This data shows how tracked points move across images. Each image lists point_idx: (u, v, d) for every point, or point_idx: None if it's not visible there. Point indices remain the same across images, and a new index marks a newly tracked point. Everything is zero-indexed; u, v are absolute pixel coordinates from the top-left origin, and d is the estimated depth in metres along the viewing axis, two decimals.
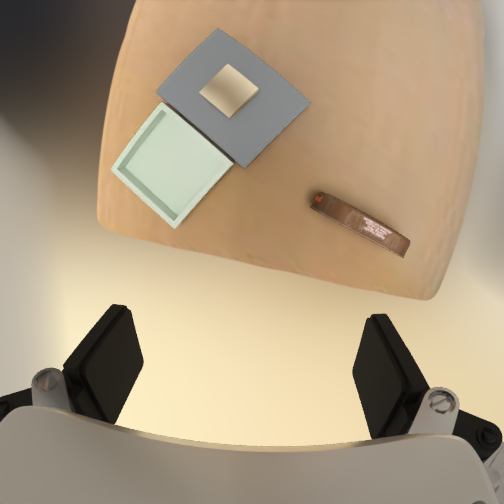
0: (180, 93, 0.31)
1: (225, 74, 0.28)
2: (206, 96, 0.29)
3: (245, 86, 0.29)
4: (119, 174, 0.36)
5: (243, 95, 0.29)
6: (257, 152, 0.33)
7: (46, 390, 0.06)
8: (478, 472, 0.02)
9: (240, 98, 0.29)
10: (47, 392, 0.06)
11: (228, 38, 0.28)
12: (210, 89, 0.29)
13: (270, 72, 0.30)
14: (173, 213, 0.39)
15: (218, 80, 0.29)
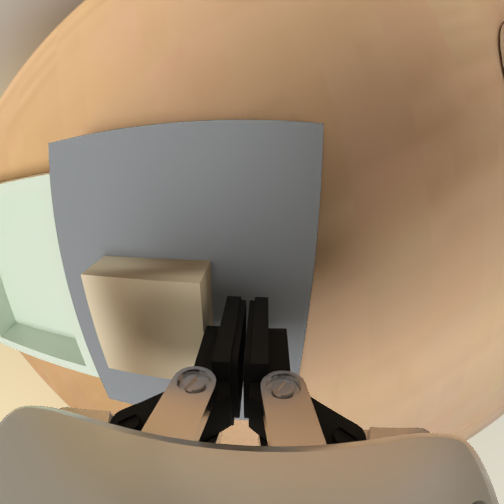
0: (81, 205, 0.11)
1: (167, 302, 0.10)
2: (90, 298, 0.10)
3: (186, 361, 0.11)
4: None
5: (166, 368, 0.11)
6: None
7: (186, 389, 0.07)
8: (478, 472, 0.02)
9: (155, 366, 0.11)
10: (185, 393, 0.06)
11: (310, 182, 0.10)
12: (108, 295, 0.10)
13: (291, 346, 0.13)
14: (10, 316, 0.17)
15: (139, 297, 0.10)
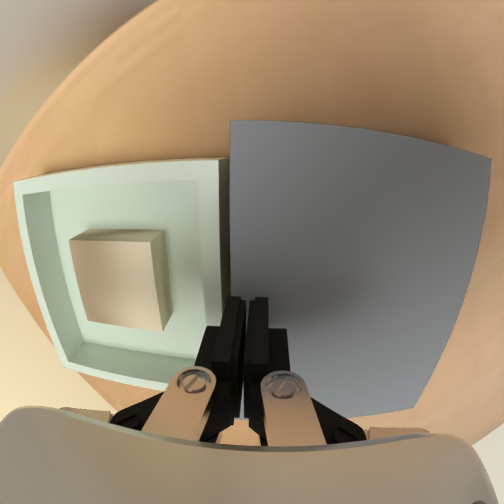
0: (281, 204, 0.10)
1: None
2: None
3: None
4: (20, 209, 0.12)
5: None
6: None
7: (186, 389, 0.07)
8: (478, 472, 0.02)
9: None
10: (185, 393, 0.06)
11: (481, 203, 0.10)
12: None
13: (442, 337, 0.12)
14: (77, 335, 0.17)
15: None
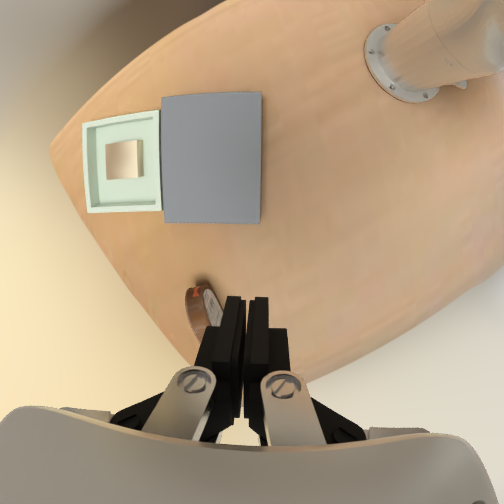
0: (176, 119, 0.30)
1: None
2: None
3: None
4: (84, 134, 0.31)
5: None
6: (184, 221, 0.35)
7: (186, 389, 0.07)
8: (478, 472, 0.02)
9: None
10: (185, 393, 0.06)
11: (257, 109, 0.29)
12: None
13: (255, 171, 0.32)
14: (97, 198, 0.36)
15: None
